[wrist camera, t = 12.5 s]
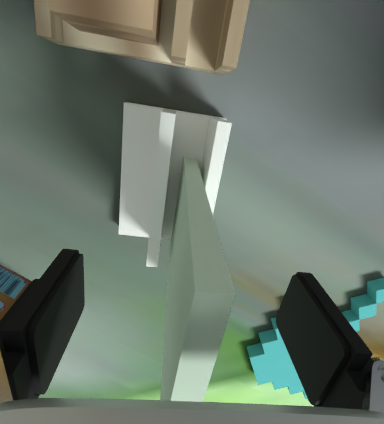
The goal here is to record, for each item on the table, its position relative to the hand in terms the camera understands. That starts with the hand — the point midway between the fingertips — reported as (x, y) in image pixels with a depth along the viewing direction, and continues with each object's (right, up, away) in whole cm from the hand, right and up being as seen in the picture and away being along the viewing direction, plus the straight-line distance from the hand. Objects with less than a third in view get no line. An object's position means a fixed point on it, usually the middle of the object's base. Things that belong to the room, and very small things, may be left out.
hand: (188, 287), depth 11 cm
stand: (-2, +7, +15) cm, 16 cm away
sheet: (-1, +4, +14) cm, 15 cm away
